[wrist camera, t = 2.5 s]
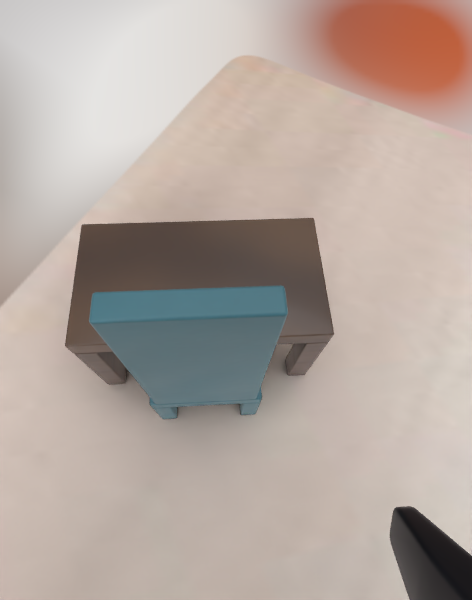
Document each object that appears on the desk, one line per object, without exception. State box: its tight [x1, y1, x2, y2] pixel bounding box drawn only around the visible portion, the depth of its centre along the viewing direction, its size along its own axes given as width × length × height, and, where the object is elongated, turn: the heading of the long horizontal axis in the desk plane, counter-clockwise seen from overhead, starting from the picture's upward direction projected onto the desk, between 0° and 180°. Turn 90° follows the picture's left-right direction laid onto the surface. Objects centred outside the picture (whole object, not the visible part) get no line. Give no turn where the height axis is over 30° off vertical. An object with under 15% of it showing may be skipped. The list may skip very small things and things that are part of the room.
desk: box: [65, 218, 334, 384], centre depth 20 cm, size 6×11×6 cm, turn 93°
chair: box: [89, 285, 288, 419], centre depth 16 cm, size 5×5×14 cm
